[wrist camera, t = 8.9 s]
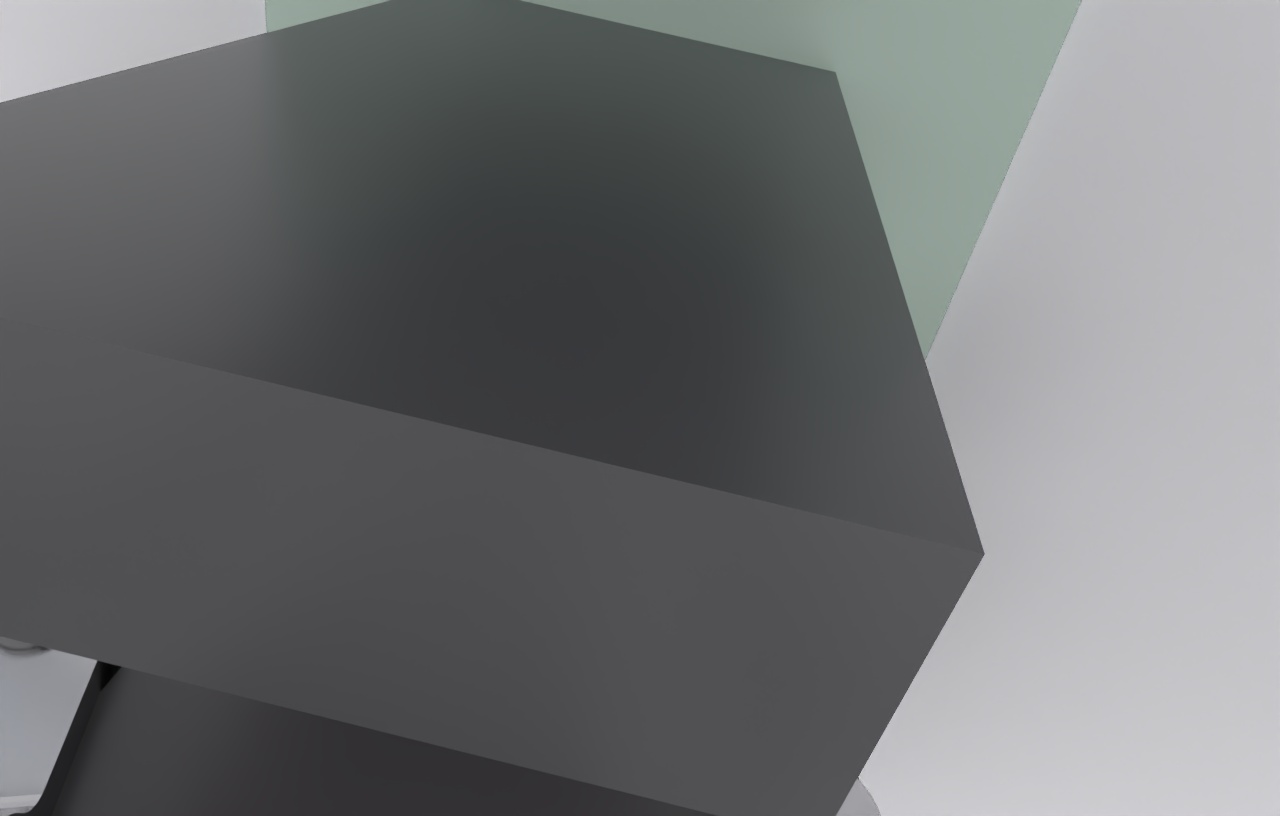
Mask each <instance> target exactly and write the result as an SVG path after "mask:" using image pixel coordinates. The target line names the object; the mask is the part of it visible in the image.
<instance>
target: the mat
mask: <svg viewBox="0 0 1280 816" xmlns="http://www.w3.org/2000/svg"><path fill="white" fill-rule="evenodd" d="M386 1H390V0H265V10H266V26H267V33H268V32H272V31H276V30H280V29H283V28H287V27H291V26H295V25H299V24H302V23H306V22H310V21H314V20H318V19H321V18H325V17H329V16H333V15H337V14H340V13H344V12H348V11H352V10H356V9H359V8H363V7H367V6H371V5H375V4H378V3H382V2H386ZM521 1H525V2H530V3H534V4H539V5H543V6H547V7H552V8H556V9H561V10H565V11H569V12H574V13H578V14H583V15H587V16H591V17H596V18H600V19H605V20H609V21H613V22H618V23H622V24H627V25H631V26H635V27H640V28H644V29H649V30H653V31H657V32H662V33H666V34H671V35H675V36H679V37H684V38H688V39H692V40H697V41H701V42H706V43H710V44H714V45H719V46H723V47H728V48H732V49H736V50H741V51H745V52H750V53H754V54H758V55H763V56H767V57H772V58H776V59H780V60H785V61H789V62H794V63H798V64H802V65H807V66H811V67H816V68H820V69H824V70H829V71H833V72H836V75H837V79H838V82H839V85H840V88H841V92H842V95H843V98H844V101H845V104H846V108H847V111H848V114H849V117H850V121H851V124H852V127H853V130H854V134H855V137H856V140H857V143H858V147H859V150H860V153H861V156H862V160H863V163H864V166H865V169H866V172H867V176H868V179H869V182H870V185H871V189H872V192H873V195H874V198H875V202H876V205H877V208H878V211H879V215H880V218H881V221H882V224H883V227H884V231H885V234H886V237H887V240H888V244H889V247H890V250H891V253H892V257H893V260H894V263H895V266H896V270H897V273H898V276H899V279H900V282H901V286H902V289H903V292H904V295H905V299H906V302H907V305H908V308H909V312H910V315H911V318H912V321H913V325H914V328H915V331H916V334H917V337H918V341H919V344H920V347H921V350H922V354H923V357H924V360H925V359H926V357H927V354H928V352H929V350H930V348H931V345H932V343H933V341H934V338H935V336H936V334H937V331H938V329H939V327H940V325H941V322H942V320H943V318H944V315H945V313H946V311H947V309H948V306H949V304H950V302H951V299H952V297H953V295H954V292H955V290H956V288H957V286H958V283H959V281H960V279H961V276H962V274H963V272H964V270H965V267H966V265H967V263H968V260H969V258H970V256H971V253H972V251H973V249H974V247H975V244H976V242H977V240H978V237H979V235H980V233H981V231H982V228H983V226H984V224H985V221H986V219H987V217H988V214H989V212H990V210H991V208H992V205H993V203H994V201H995V198H996V196H997V194H998V192H999V189H1000V187H1001V185H1002V182H1003V180H1004V178H1005V175H1006V173H1007V171H1008V169H1009V166H1010V164H1011V162H1012V159H1013V157H1014V155H1015V153H1016V150H1017V148H1018V146H1019V143H1020V141H1021V139H1022V136H1023V134H1024V132H1025V130H1026V127H1027V125H1028V123H1029V120H1030V118H1031V116H1032V114H1033V111H1034V109H1035V107H1036V104H1037V102H1038V100H1039V97H1040V95H1041V93H1042V91H1043V88H1044V86H1045V84H1046V81H1047V79H1048V77H1049V75H1050V72H1051V70H1052V68H1053V65H1054V63H1055V61H1056V58H1057V56H1058V54H1059V52H1060V49H1061V47H1062V45H1063V42H1064V40H1065V38H1066V36H1067V33H1068V31H1069V29H1070V26H1071V24H1072V22H1073V19H1074V17H1075V15H1076V13H1077V10H1078V8H1079V6H1080V3H1081V1H1082V0H521Z"/></svg>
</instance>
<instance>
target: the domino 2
mask: <svg viewBox="0 0 1280 816" xmlns="http://www.w3.org/2000/svg"><path fill="white" fill-rule="evenodd" d="M52 816H717V815H713V814H709V813H705V812H701V811H697V810H693V809H689V808H685V807H681V806H677V805H673V804H669V803H665V802H661V801H657V800H653V799H649V798H645V797H641V796H637V795H633V794H629V793H625V792H621V791H617V790H613V789H609V788H605V787H601V786H597V785H593V784H589V783H585V782H581V781H577V780H573V779H569V778H565V777H561V776H557V775H553V774H549V773H545V772H541V771H537V770H533V769H529V768H525V767H521V766H517V765H513V764H509V763H505V762H501V761H497V760H493V759H489V758H485V757H481V756H477V755H473V754H469V753H465V752H461V751H457V750H453V749H449V748H445V747H441V746H437V745H433V744H429V743H425V742H421V741H417V740H413V739H409V738H405V737H401V736H397V735H393V734H389V733H385V732H381V731H377V730H373V729H369V728H365V727H361V726H357V725H353V724H349V723H345V722H341V721H337V720H333V719H329V718H325V717H321V716H317V715H313V714H309V713H305V712H301V711H297V710H293V709H289V708H285V707H281V706H277V705H273V704H269V703H265V702H261V701H257V700H253V699H249V698H245V697H241V696H237V695H233V694H229V693H225V692H221V691H217V690H213V689H209V688H205V687H201V686H197V685H193V684H189V683H185V682H181V681H177V680H173V679H169V678H165V677H161V676H157V675H153V674H149V673H145V672H141V671H137V670H133V669H129V668H125V667H121V668H120V670H119V671H118V672H117V673H116V674H115V675H114V677H113V678H112V679H111V680H110V681H109V682H108V684H107V685H106V686H105V687H104V688H103V689H102V691H101V692H100V694H99V697H98V699H97V702H96V704H95V707H94V709H93V712H92V714H91V717H90V719H89V722H88V724H87V727H86V730H85V732H84V735H83V737H82V740H81V742H80V745H79V747H78V750H77V752H76V755H75V758H74V760H73V763H72V765H71V768H70V770H69V773H68V775H67V778H66V780H65V783H64V785H63V788H62V791H61V793H60V796H59V798H58V801H57V803H56V806H55V808H54V811H53V813H52Z"/></svg>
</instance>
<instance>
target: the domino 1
mask: <svg viewBox="0 0 1280 816" xmlns="http://www.w3.org/2000/svg"><path fill="white" fill-rule="evenodd" d="M983 556H984V551H983V548H982V545H981V541H980V538H979V535H978V532H977V528H976V525H975V522H974V519H973V515H972V512H971V509H970V506H969V502H968V499H967V496H966V493H965V490H964V486H963V483H962V480H961V477H960V473H959V470H958V467H957V464H956V460H955V457H954V454H953V451H952V447H951V444H950V441H949V438H948V435H947V431H946V428H945V425H944V422H943V418H942V415H941V412H940V409H939V405H938V402H937V399H936V396H935V392H934V389H933V386H932V383H931V380H930V376H929V373H928V370H927V367H926V363H925V360H924V357H923V354H922V350H921V347H920V344H919V341H918V337H917V334H916V331H915V328H914V325H913V321H912V318H911V315H910V312H909V308H908V305H907V302H906V299H905V295H904V292H903V289H902V286H901V282H900V279H899V276H898V273H897V270H896V266H895V263H894V260H893V257H892V253H891V250H890V247H889V244H888V240H887V237H886V234H885V231H884V227H883V224H882V221H881V218H880V215H879V211H878V208H877V205H876V202H875V198H874V195H873V192H872V189H871V185H870V182H869V179H868V176H867V172H866V169H865V166H864V163H863V160H862V156H861V153H860V150H859V147H858V143H857V140H856V137H855V134H854V130H853V127H852V124H851V121H850V117H849V114H848V111H847V108H846V104H845V101H844V98H843V95H842V92H841V88H840V85H839V82H838V79H837V75H836V72H833V71H829V70H824V69H820V68H816V67H811V66H807V65H802V64H798V63H794V62H789V61H785V60H780V59H776V58H772V57H767V56H763V55H758V54H754V53H750V52H745V51H741V50H736V49H732V48H728V47H723V46H719V45H714V44H710V43H706V42H701V41H697V40H692V39H688V38H684V37H679V36H675V35H671V34H666V33H662V32H657V31H653V30H649V29H644V28H640V27H635V26H631V25H627V24H622V23H618V22H613V21H609V20H605V19H600V18H596V17H591V16H587V15H583V14H578V13H574V12H569V11H565V10H561V9H556V8H552V7H547V6H543V5H539V4H534V3H530V2H525V1H521V0H390V1H386V2H382V3H378V4H375V5H371V6H367V7H363V8H359V9H356V10H352V11H348V12H344V13H340V14H337V15H333V16H329V17H325V18H321V19H318V20H314V21H310V22H306V23H302V24H299V25H295V26H291V27H287V28H283V29H280V30H276V31H272V32H268V33H264V34H261V35H257V36H253V37H249V38H245V39H241V40H238V41H234V42H230V43H226V44H222V45H219V46H215V47H211V48H207V49H203V50H200V51H196V52H192V53H188V54H184V55H181V56H177V57H173V58H169V59H165V60H162V61H158V62H154V63H150V64H146V65H143V66H139V67H135V68H131V69H127V70H124V71H120V72H116V73H112V74H108V75H105V76H101V77H97V78H93V79H89V80H86V81H82V82H78V83H74V84H70V85H67V86H63V87H59V88H55V89H51V90H48V91H44V92H40V93H36V94H32V95H29V96H25V97H21V98H17V99H13V100H10V101H6V102H2V103H0V636H1V637H5V638H9V639H13V640H17V641H21V642H25V643H29V644H33V645H37V646H41V647H45V648H49V649H53V650H57V651H61V652H65V653H69V654H73V655H77V656H81V657H85V658H89V659H93V660H97V661H101V662H105V663H109V664H113V665H117V666H121V667H125V668H129V669H133V670H137V671H141V672H145V673H149V674H153V675H157V676H161V677H165V678H169V679H173V680H177V681H181V682H185V683H189V684H193V685H197V686H201V687H205V688H209V689H213V690H217V691H221V692H225V693H229V694H233V695H237V696H241V697H245V698H249V699H253V700H257V701H261V702H265V703H269V704H273V705H277V706H281V707H285V708H289V709H293V710H297V711H301V712H305V713H309V714H313V715H317V716H321V717H325V718H329V719H333V720H337V721H341V722H345V723H349V724H353V725H357V726H361V727H365V728H369V729H373V730H377V731H381V732H385V733H389V734H393V735H397V736H401V737H405V738H409V739H413V740H417V741H421V742H425V743H429V744H433V745H437V746H441V747H445V748H449V749H453V750H457V751H461V752H465V753H469V754H473V755H477V756H481V757H485V758H489V759H493V760H497V761H501V762H505V763H509V764H513V765H517V766H521V767H525V768H529V769H533V770H537V771H541V772H545V773H549V774H553V775H557V776H561V777H565V778H569V779H573V780H577V781H581V782H585V783H589V784H593V785H597V786H601V787H605V788H609V789H613V790H617V791H621V792H625V793H629V794H633V795H637V796H641V797H645V798H649V799H653V800H657V801H661V802H665V803H669V804H673V805H677V806H681V807H685V808H689V809H693V810H697V811H701V812H705V813H709V814H713V815H717V816H836V815H837V813H838V811H839V810H840V808H841V806H842V804H843V802H844V801H845V799H846V797H847V795H848V794H849V792H850V790H851V788H852V787H853V785H854V783H855V781H856V780H857V778H858V776H859V774H860V773H861V771H862V769H863V767H864V765H865V764H866V762H867V760H868V758H869V757H870V755H871V753H872V751H873V750H874V748H875V746H876V744H877V743H878V741H879V739H880V737H881V736H882V734H883V732H884V730H885V728H886V727H887V725H888V723H889V721H890V720H891V718H892V716H893V714H894V713H895V711H896V709H897V707H898V706H899V704H900V702H901V700H902V699H903V697H904V695H905V693H906V692H907V690H908V688H909V686H910V684H911V683H912V681H913V679H914V677H915V676H916V674H917V672H918V670H919V669H920V667H921V665H922V663H923V662H924V660H925V658H926V656H927V655H928V653H929V651H930V649H931V647H932V646H933V644H934V642H935V640H936V639H937V637H938V635H939V633H940V632H941V630H942V628H943V626H944V625H945V623H946V621H947V619H948V618H949V616H950V614H951V612H952V610H953V609H954V607H955V605H956V603H957V602H958V600H959V598H960V596H961V595H962V593H963V591H964V589H965V588H966V586H967V584H968V582H969V581H970V579H971V577H972V575H973V574H974V572H975V570H976V568H977V566H978V565H979V563H980V561H981V559H982V558H983Z"/></svg>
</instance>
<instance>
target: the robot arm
mask: <svg viewBox="0 0 1280 816" xmlns="http://www.w3.org/2000/svg"><path fill="white" fill-rule="evenodd" d="M120 668H121V666H117V665H113V664H109V663H105V662H101V661H97V660H93V659H89V658H85V657H81V656H77V655H73V654H69V653H65V652H61V651H57V650H53V649H49V648H45V647H41V646H37V645H33V644H29V643H25V642H21V641H17V640H13V639H9V638H5V637H1V636H0V816H52V813H53V811H54V808H55V806H56V803H57V801H58V798H59V796H60V793H61V791H62V788H63V785H64V783H65V780H66V778H67V775H68V773H69V770H70V768H71V765H72V763H73V760H74V758H75V755H76V752H77V750H78V747H79V745H80V742H81V740H82V737H83V735H84V732H85V730H86V727H87V724H88V722H89V719H90V717H91V714H92V712H93V709H94V707H95V704H96V702H97V699H98V697H99V694H100V692H101V691H102V689H103V688H104V687H105V686H106V685H107V684H108V682H109V681H110V680H111V679H112V678H113V677H114V675H115V674H116V673H117V672H118V671H119V670H120ZM836 816H881V815H880V812H879V810H878V807H877V805H876V803H875V802H874V800H873V798H872V796H871V794H870V793H869V792H868V790H867V789H866V787H865V786H864V785H863V784H862V782H861V781H860V780H859V777H858V778H857V780H856V781H855V783H854V785H853V787H852V788H851V790H850V792H849V794H848V795H847V797H846V799H845V801H844V802H843V804H842V806H841V808H840V810H839V811H838V813H837V815H836Z"/></svg>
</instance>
